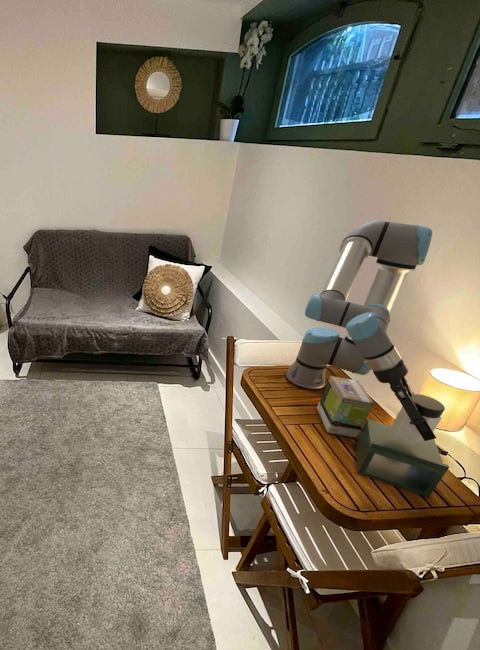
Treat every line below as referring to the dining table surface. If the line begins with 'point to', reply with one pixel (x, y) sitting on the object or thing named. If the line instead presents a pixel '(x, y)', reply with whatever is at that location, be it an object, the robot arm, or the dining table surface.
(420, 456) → the shelf
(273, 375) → the dining table surface
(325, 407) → the tea box
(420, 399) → the jar
